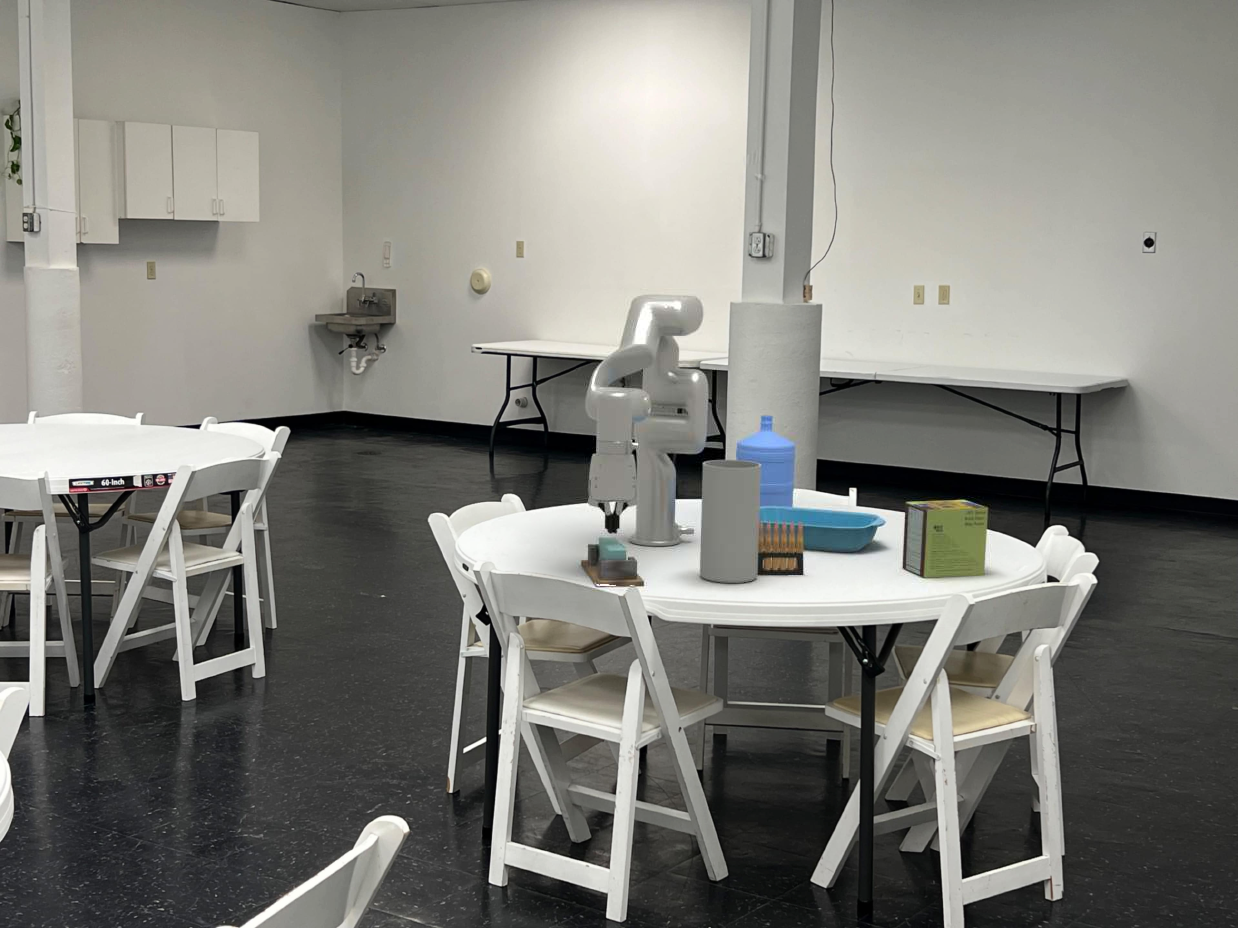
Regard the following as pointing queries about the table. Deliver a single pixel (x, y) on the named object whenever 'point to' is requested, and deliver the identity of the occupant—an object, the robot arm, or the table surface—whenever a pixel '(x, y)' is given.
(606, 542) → the teal long block
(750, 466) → the cylinder vase
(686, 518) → the table surface
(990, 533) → the table surface
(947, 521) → the protein box
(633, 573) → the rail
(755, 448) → the water jug
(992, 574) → the table surface
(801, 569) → the ammunition clip
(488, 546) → the table surface
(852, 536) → the casserole dish
